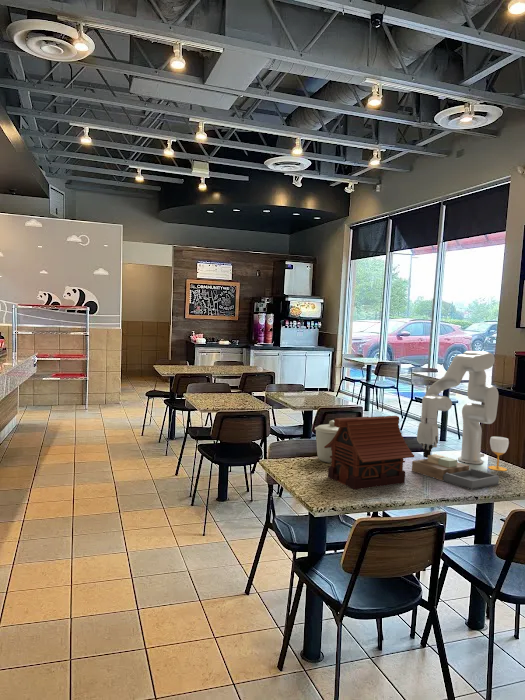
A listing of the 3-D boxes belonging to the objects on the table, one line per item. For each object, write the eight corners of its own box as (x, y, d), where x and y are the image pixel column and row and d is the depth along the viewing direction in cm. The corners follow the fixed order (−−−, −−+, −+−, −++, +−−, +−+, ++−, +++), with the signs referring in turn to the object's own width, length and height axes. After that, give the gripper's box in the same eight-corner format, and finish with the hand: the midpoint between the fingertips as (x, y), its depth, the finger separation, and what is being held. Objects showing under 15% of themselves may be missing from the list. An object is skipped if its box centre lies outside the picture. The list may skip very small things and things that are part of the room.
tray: (469, 476, 252) (470, 467, 252) (498, 484, 239) (498, 475, 239) (443, 481, 241) (443, 472, 241) (471, 490, 228) (472, 481, 228)
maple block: (435, 460, 260) (435, 454, 260) (445, 462, 255) (445, 456, 255) (427, 461, 257) (427, 455, 257) (437, 464, 252) (437, 458, 252)
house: (373, 469, 257) (376, 410, 256) (415, 485, 232) (419, 420, 231) (314, 475, 240) (318, 413, 239) (354, 494, 215) (357, 424, 214)
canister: (342, 467, 257) (344, 425, 256) (308, 461, 265) (310, 420, 264) (352, 459, 273) (354, 420, 273) (319, 454, 281) (321, 416, 280)
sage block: (446, 463, 255) (446, 457, 255) (456, 466, 250) (457, 459, 250) (438, 464, 252) (438, 458, 251) (448, 467, 247) (449, 461, 246)
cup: (503, 467, 273) (505, 436, 272) (509, 471, 264) (511, 440, 263) (485, 465, 274) (487, 435, 273) (491, 470, 265) (493, 439, 264)
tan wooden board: (438, 466, 267) (438, 457, 267) (468, 475, 252) (469, 465, 252) (411, 470, 256) (412, 460, 256) (442, 480, 241) (442, 470, 241)
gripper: (412, 418, 265) (410, 454, 265) (436, 424, 252) (434, 461, 253) (422, 418, 269) (420, 453, 269) (446, 423, 256) (444, 459, 257)
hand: (426, 457), depth 261 cm, fingers closed
